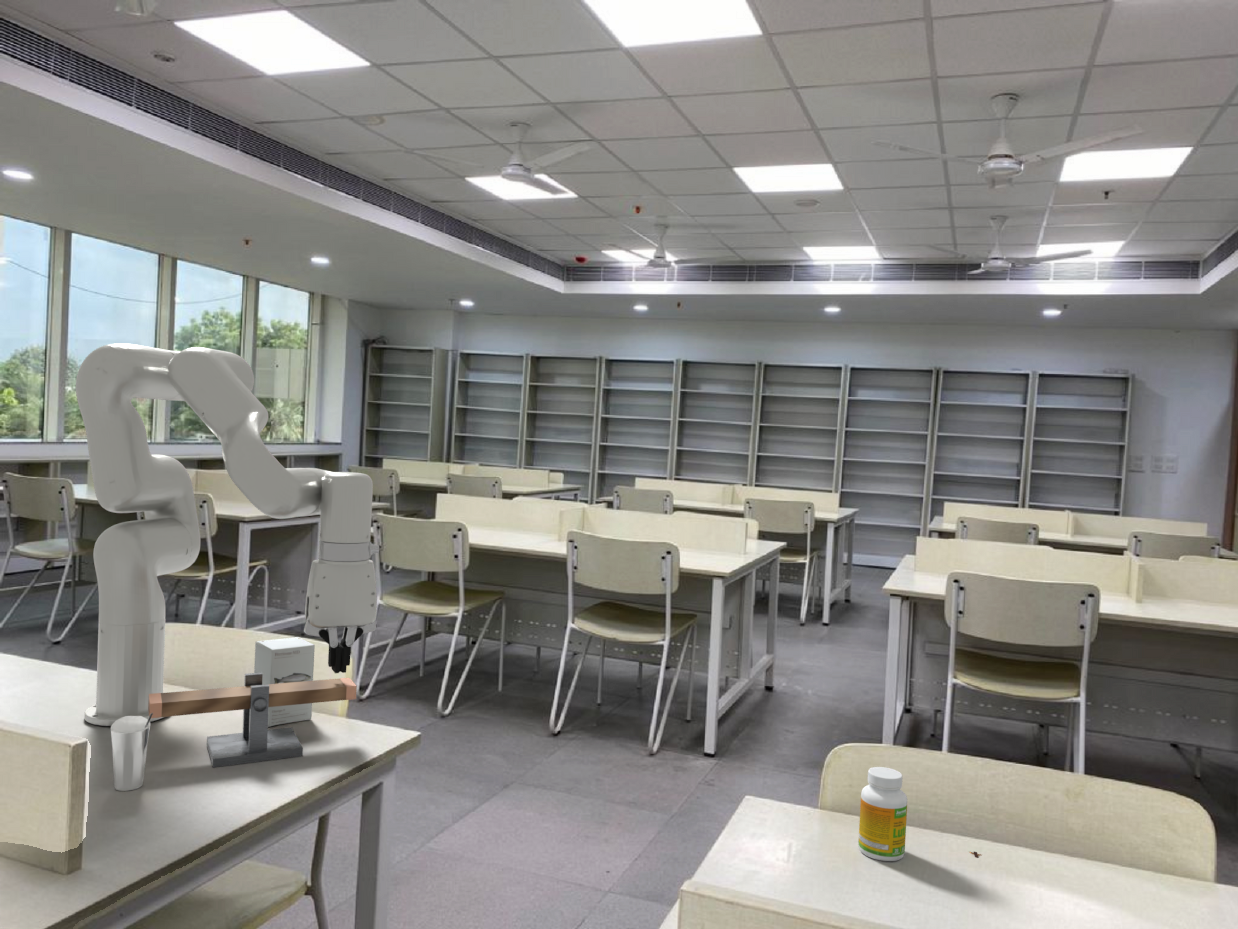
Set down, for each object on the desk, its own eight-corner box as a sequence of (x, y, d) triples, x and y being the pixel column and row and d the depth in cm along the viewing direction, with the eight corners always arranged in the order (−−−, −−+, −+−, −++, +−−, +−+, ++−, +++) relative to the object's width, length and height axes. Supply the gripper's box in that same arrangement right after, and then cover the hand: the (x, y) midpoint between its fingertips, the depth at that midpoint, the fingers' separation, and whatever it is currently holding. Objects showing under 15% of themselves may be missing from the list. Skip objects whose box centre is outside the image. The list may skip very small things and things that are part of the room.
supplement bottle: (897, 867, 103) (902, 784, 103) (852, 854, 106) (856, 773, 106) (909, 850, 108) (913, 771, 108) (865, 838, 111) (869, 761, 111)
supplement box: (267, 728, 141) (270, 649, 141) (251, 716, 147) (254, 640, 146) (313, 720, 146) (315, 644, 146) (295, 708, 152) (298, 635, 151)
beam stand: (212, 767, 124) (215, 693, 124) (206, 744, 133) (209, 675, 132) (302, 756, 130) (305, 684, 129) (291, 735, 138) (293, 668, 138)
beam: (149, 718, 122) (149, 703, 122) (148, 708, 126) (148, 694, 126) (356, 699, 136) (356, 686, 136) (348, 690, 140) (349, 677, 140)
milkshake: (136, 796, 113) (139, 718, 113) (100, 791, 114) (102, 714, 114) (161, 783, 118) (164, 708, 118) (126, 778, 119) (128, 704, 119)
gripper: (386, 548, 143) (381, 661, 144) (289, 549, 136) (283, 668, 136) (399, 555, 137) (393, 673, 137) (297, 556, 129) (291, 681, 130)
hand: (338, 670), depth 137 cm, fingers closed
